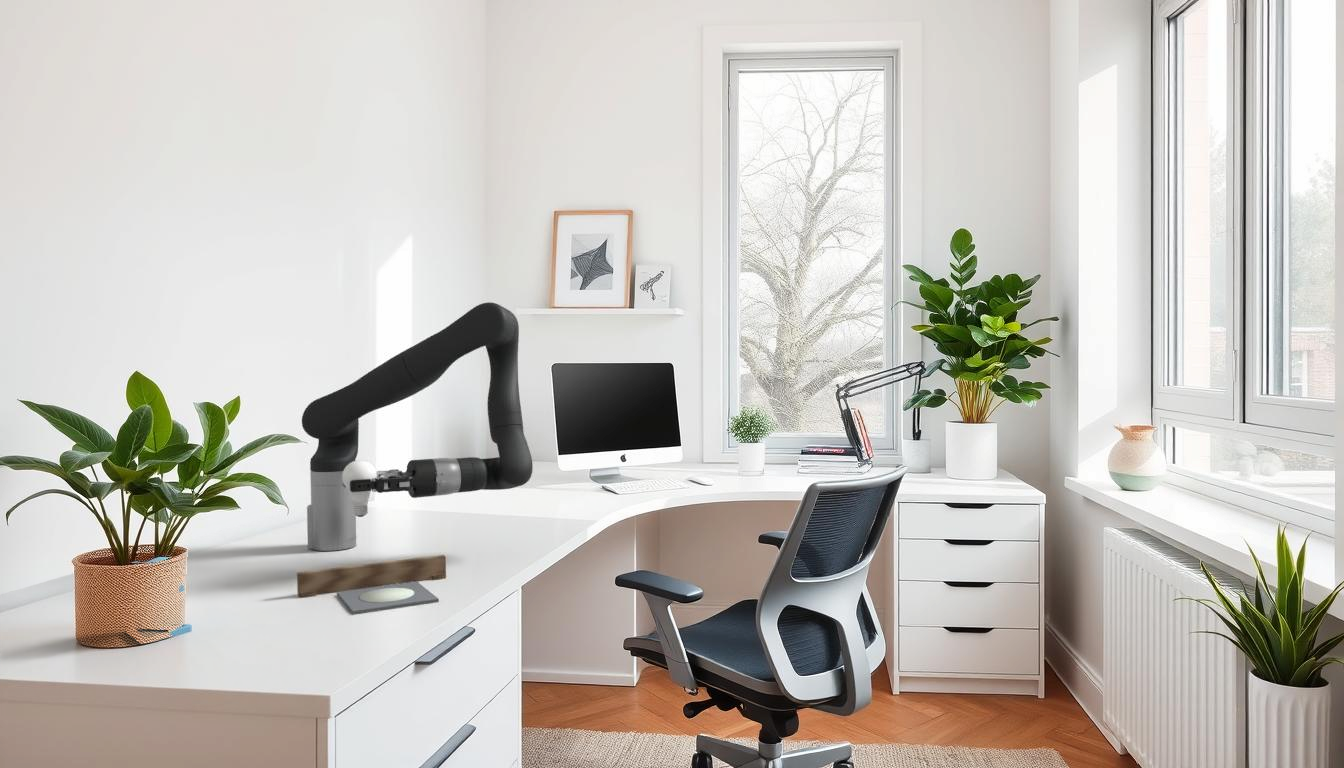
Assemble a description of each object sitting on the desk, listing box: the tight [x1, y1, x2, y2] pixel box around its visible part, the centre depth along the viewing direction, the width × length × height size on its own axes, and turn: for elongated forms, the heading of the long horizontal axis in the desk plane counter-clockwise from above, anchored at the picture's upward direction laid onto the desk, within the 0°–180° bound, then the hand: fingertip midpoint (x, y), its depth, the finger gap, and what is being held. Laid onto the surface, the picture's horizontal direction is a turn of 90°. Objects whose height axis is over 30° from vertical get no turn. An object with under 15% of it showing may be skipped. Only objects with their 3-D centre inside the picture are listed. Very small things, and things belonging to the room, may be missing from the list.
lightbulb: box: [342, 459, 377, 518], centre depth 172 cm, size 6×6×11 cm
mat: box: [336, 581, 440, 615], centre depth 154 cm, size 14×14×1 cm
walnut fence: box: [296, 554, 447, 599], centre depth 163 cm, size 26×3×4 cm, turn 121°
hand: (347, 484), depth 170 cm, fingers closed on lightbulb, 6 cm apart
